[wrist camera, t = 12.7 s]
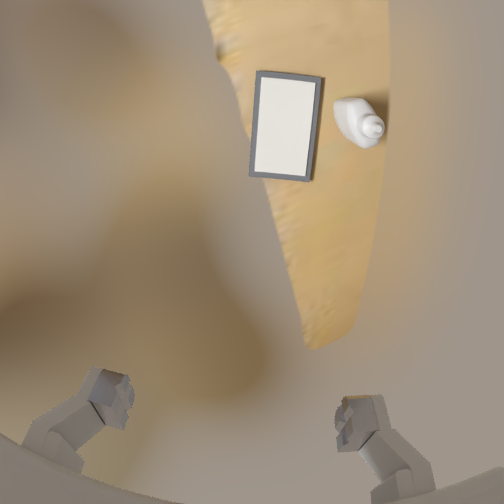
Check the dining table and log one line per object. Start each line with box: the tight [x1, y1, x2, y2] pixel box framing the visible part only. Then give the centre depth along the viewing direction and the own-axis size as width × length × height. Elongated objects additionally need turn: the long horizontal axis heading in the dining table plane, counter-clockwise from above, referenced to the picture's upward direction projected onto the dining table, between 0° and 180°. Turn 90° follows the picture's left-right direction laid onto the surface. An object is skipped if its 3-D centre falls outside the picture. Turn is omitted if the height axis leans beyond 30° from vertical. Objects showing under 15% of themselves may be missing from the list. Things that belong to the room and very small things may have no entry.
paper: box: [255, 77, 315, 176], centre depth 35 cm, size 12×7×1 cm, turn 176°
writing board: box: [249, 71, 321, 182], centre depth 36 cm, size 14×8×1 cm, turn 176°
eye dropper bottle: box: [334, 97, 385, 149], centre depth 30 cm, size 4×6×12 cm
